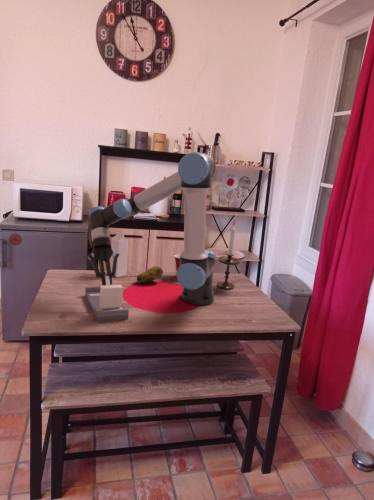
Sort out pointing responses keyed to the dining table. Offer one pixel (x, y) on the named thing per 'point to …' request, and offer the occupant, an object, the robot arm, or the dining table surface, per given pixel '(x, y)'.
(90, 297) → the fader deck
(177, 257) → the plastic cup
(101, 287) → the fader knob
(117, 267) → the milk
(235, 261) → the candlestick
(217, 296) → the dining table surface
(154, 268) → the potato
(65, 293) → the dining table surface
